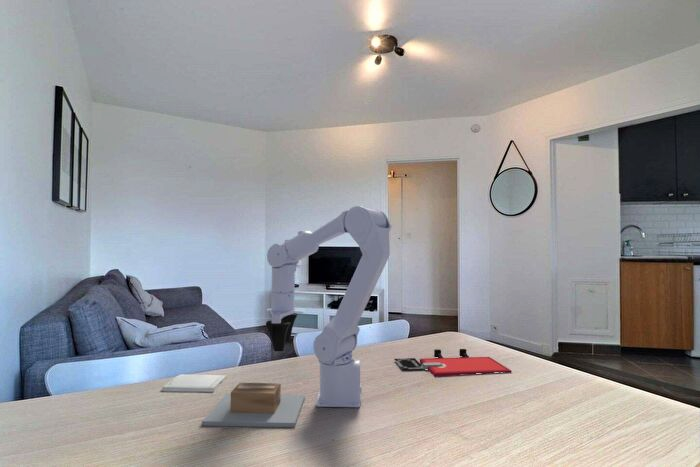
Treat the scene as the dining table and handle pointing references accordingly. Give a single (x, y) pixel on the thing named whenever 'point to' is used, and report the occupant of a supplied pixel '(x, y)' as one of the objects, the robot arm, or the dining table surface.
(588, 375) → the dining table surface
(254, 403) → the taped cardboard box
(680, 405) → the dining table surface
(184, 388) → the hard drive
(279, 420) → the rubber mat
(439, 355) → the red board with handle
